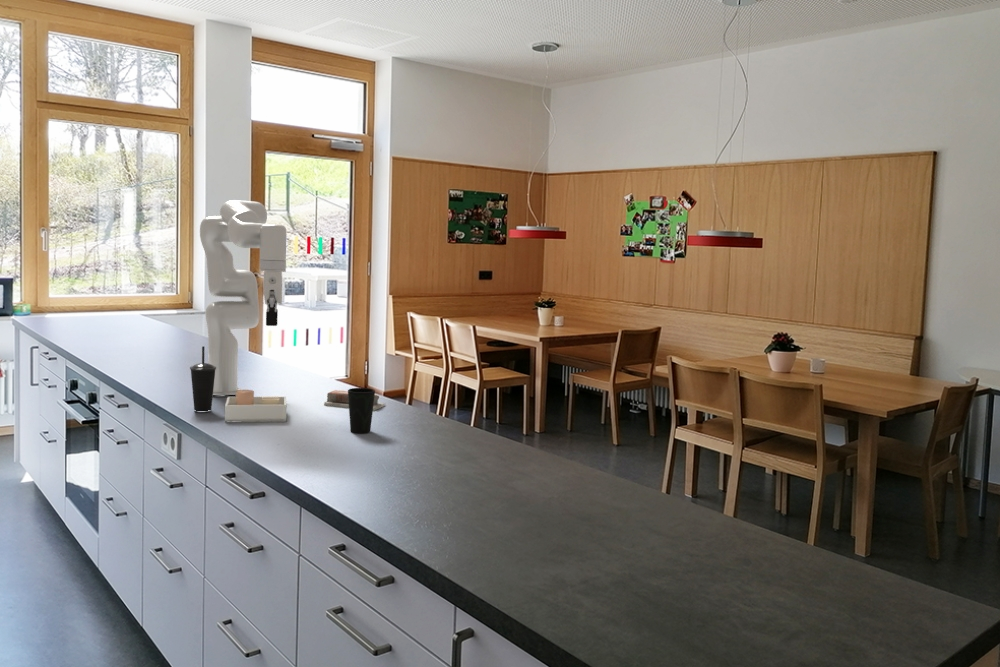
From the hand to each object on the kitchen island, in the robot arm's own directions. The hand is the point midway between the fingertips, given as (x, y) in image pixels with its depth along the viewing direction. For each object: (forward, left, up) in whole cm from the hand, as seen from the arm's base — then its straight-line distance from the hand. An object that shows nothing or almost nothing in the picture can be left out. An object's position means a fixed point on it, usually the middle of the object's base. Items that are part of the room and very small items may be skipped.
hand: (271, 323), depth 243 cm
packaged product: (-17, +27, -29) cm, 43 cm away
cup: (+20, +25, -28) cm, 43 cm away
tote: (0, -4, -28) cm, 29 cm away
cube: (0, 0, -28) cm, 28 cm away
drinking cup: (-10, -20, -28) cm, 36 cm away
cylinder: (0, -8, -27) cm, 28 cm away
